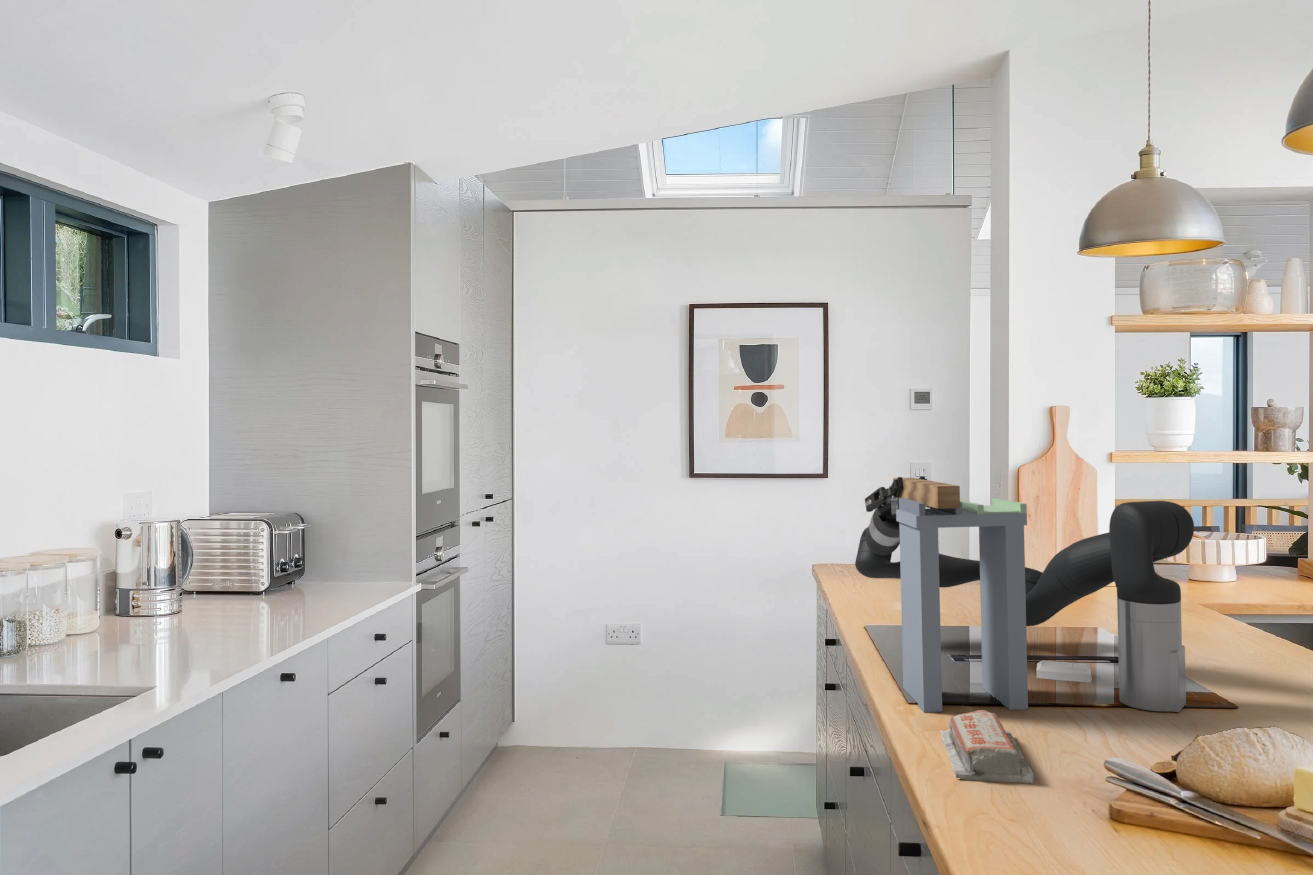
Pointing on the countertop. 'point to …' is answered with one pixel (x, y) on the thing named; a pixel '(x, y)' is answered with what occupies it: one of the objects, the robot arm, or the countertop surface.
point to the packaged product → (984, 749)
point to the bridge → (997, 593)
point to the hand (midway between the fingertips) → (912, 481)
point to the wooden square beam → (931, 493)
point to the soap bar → (1064, 671)
